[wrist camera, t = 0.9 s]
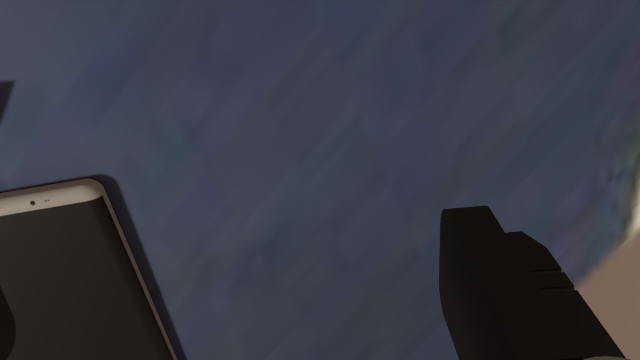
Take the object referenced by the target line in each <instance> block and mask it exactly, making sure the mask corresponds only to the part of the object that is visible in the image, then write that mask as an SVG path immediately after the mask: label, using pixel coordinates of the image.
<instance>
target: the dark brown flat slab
mask: <svg viewBox="0 0 640 360" xmlns="http://www.w3.org/2000/svg"><path fill="white" fill-rule="evenodd" d="M0 286H1V288H2V291H3V293H4V295H5V298H6V300H7V302H8V305H9V307H10V309H11V312H12V314H13V317H14V320H15V325H16V337H15V343H14V346H13V349H12V352H11V354H10V355H9V357H8V359H7V360H177V358H176V355H175V353H174V351H173V348H172V346H171V344H170V341H169V339H168V337H167V334H166V332H165V330H164V327H163V325H162V322H161V320H160V318H159V315H158V313H157V311H156V308H155V306H154V304H153V301H152V299H151V297H150V294H149V292H148V290H147V287H146V285H145V283H144V280H143V278H142V276H141V273H140V271H139V269H138V266H137V264H136V262H135V259H134V257H133V255H132V252H131V250H130V248H129V245H128V243H127V241H126V238H125V236H124V233H123V231H122V229H121V226H120V224H119V222H118V219H117V217H116V215H115V212H114V210H113V208H112V205H111V203H110V201H109V198H108V196H107V194H106V191H105V189H104V187H103V186H102V184H101V183H100V182H98V181H96V180H94V179H89V178H87V179H80V180H74V181H68V182H62V183H57V184H51V185H45V186H39V187H33V188H27V189H21V190H16V191H10V192H4V193H0Z"/></svg>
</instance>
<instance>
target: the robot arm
mask: <svg viewBox="0 0 640 360" xmlns="http://www.w3.org/2000/svg"><path fill="white" fill-rule="evenodd" d="M439 291H440V299H441V305H442V310H443V314H444V318H445V321H446V323H447V326H448V329H449V332H450V335H451V338H452V340H453V343H454V346H455V349H456V352H457V355H458V357H459V360H629V359H626V358H625V356H624V355H623V353H622V352H621V351H620V349H619V348H618V346H617V345H616V344H615V343H614V341H613V340H612V338H611V337H610V335H609V334H608V333H607V331H606V330H605V328H604V327H603V326H602V324H601V323H600V321H599V320H598V319H597V317H596V316H595V315H594V313H593V312H592V310H591V309H590V308H589V306H588V305H587V304H586V302H585V301H584V299H583V298H582V296H581V295H580V294H579V292H578V291H577V290H574V285H573V284H572V282H571V281H570V280H569V278H568V277H567V276H566V274H565V273H564V272H563V273H562V271H561V267H560V266H559V264H558V263H557V262H556V260H555V259H554V257H553V256H552V255H551V253H550V252H549V251H548V249H547V248H546V247H545V246H543V245H542V244H540V243H539V242H537V241H536V240H534V239H532V238H531V237H529V236H528V235H526V234H525V233H523V232H522V231H521V232H509V233H505V232H504V230H503V229H502V227H501V226H500V224H499V222H498V221H497V219H496V218H495V216H494V214H493V213H492V211H491V210H490V208H489V207H488V206H476V207H464V208H453V209H444V210H443V211H442V214H441V223H440V263H439ZM15 337H16V325H15V320H14V317H13V314H12V312H11V309H10V307H9V305H8V302H7V300H6V298H5V295H4V293H3V291H2V288H1V286H0V360H7V359H8V357H9V355H10V354H11V352H12V349H13V346H14V343H15Z"/></svg>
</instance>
